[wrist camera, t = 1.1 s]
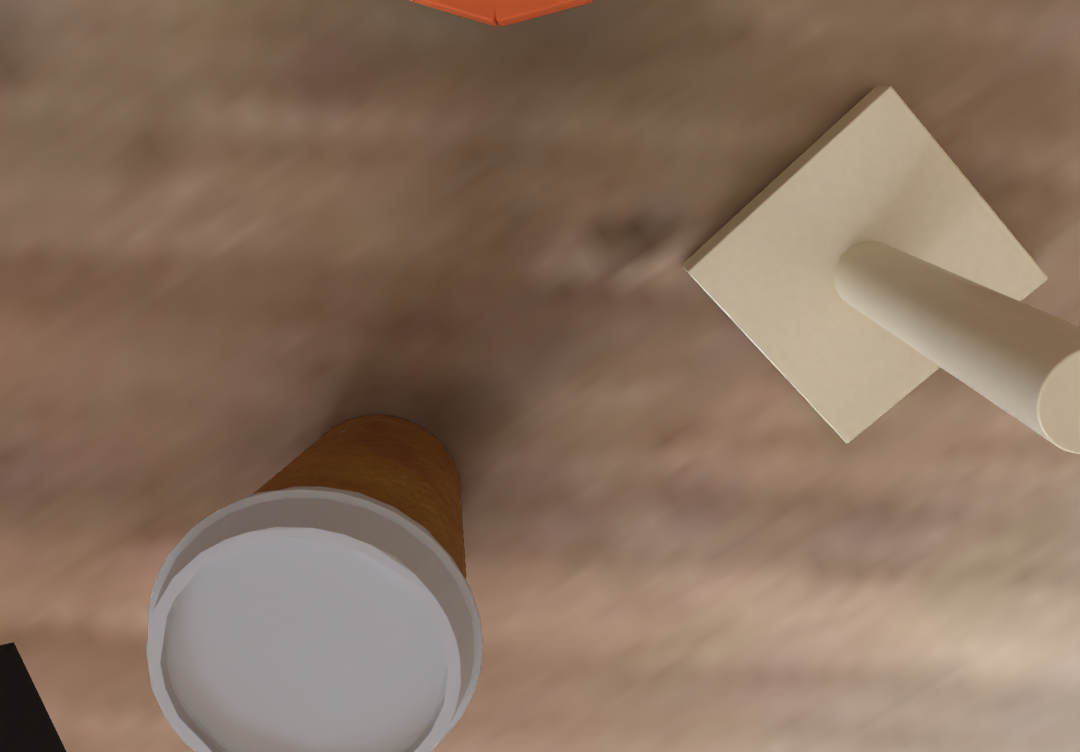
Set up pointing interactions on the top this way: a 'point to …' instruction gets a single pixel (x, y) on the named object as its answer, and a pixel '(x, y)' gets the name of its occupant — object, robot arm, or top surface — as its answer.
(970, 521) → the top surface
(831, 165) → the tall post
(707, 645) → the top surface
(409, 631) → the disposable coffee cup
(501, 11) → the ring
